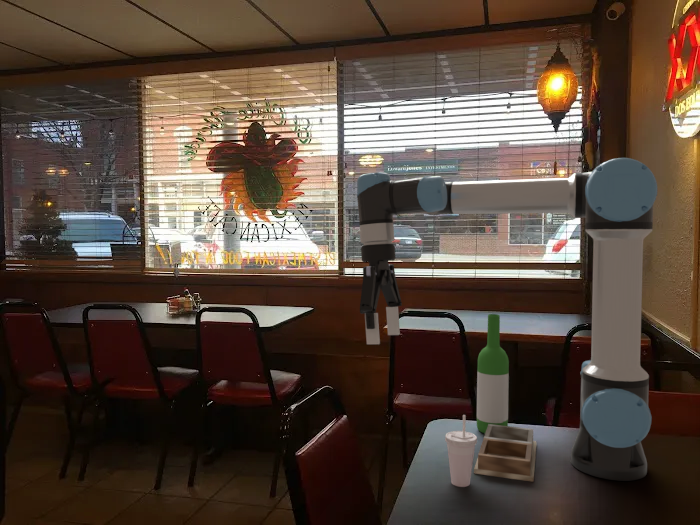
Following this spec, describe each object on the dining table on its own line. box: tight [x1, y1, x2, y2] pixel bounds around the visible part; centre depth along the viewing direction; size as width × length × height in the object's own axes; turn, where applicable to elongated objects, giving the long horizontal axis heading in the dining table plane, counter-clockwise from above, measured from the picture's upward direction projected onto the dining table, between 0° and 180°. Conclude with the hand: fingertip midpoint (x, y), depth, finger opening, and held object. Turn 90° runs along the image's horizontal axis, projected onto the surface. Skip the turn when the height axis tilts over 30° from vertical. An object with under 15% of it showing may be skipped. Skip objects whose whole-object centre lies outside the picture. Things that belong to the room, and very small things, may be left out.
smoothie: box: [444, 414, 478, 488], centre depth 116 cm, size 6×6×14 cm
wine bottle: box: [476, 313, 510, 435], centre depth 145 cm, size 8×8×30 cm
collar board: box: [473, 424, 537, 483], centre depth 128 cm, size 12×21×4 cm, turn 160°
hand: (384, 339), depth 127 cm, fingers open, 13 cm apart
